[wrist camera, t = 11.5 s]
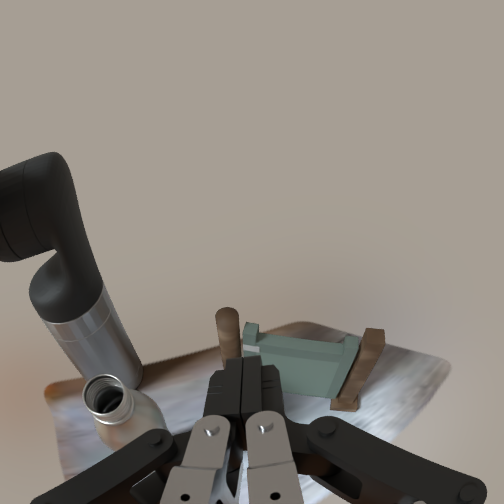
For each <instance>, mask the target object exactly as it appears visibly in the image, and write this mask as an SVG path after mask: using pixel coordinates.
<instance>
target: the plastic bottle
mask: <svg viewBox="0 0 504 504" xmlns="http://www.w3.org/2000/svg"><path fill="white" fill-rule="evenodd" d="M82 397H83V402H84V404H85V406H86V408H87V409H88V410H89V411H90V412H91V414H92V415H93V416H94V424H95V428H96V430H97V433H98V435H99V437H100V439H101V440H102V441H103V443H104V444H105V445H106V446H107V447H108V448H110V449H112V450H113V451H115V452H116V451H117V450H119V449H121V448H122V447H124V446H125V445H127V444H128V443H130V442H131V441H133V440H134V439H136V438H137V437H139V436H140V435H142V434H143V433H145V432H146V431H148V430H151V429H156V428H161V429H165V430H167V431H169V430H168V428H167V426H166V423H165V420H164V417H163V414H162V412H161V410H160V408H159V407H158V405H157V404H156V403H155V402H154V401H153V399H151V398H150V397H149V396H147V395H145V394H143V393H141V392H139V391H137V390H134V389H128V388H127V387H126V386H125V385H124V384H123V383H122V381H121V380H119V379H118V378H117V377H115V376H114V375H111V374H99V375H96V376H94V377H92V378H91V379H90V380H89V381H88V382H87V383H86V385H85V386H84V389H83V394H82ZM169 432H170V431H169ZM170 433H171V432H170ZM171 434H172V433H171ZM172 436H174V434H172ZM153 472H155V471H153ZM153 472H152V473H153ZM152 473H151V474H152ZM149 475H150V474H149Z"/></svg>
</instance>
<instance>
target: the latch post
mask: <svg viewBox="0 0 504 504" xmlns="http://www.w3.org/2000/svg"><path fill="white" fill-rule="evenodd" d="M384 334H385V333H384V330H383V329H373V328H366V330H365V333H364V335H363V337H362V340H361V342H360V345H359V347H358V351H357V353H356V356H355V358H354V360H353V362H352V365H351V367H350V369H349V371H348V373H347V376H346V378H345V380H344V382H343V384H342V386H341V388H340V390H339V392H338V394H337V396H336V398H335V399H331V405H330V410H336V411H348V412H356V410H357V402H358V393H359V391H360V390H361V388H362V386H363V385H364V383H365V381H366V379H367V378H368V376H369V374H370V372H371V371H372V369H373V367H374V365H375V363H376V362H377V360H378V358H379V356H380V354H381V352H382V350H383V348H384V346H385V335H384Z"/></svg>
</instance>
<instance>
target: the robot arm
mask: <svg viewBox="0 0 504 504" xmlns="http://www.w3.org/2000/svg"><path fill="white" fill-rule="evenodd" d="M53 249H55V250H56V251H57V253H56V254H55V255H54V256H52V257H51V258H50V259H49V260H48V261H47V262H46V263H44V265H42V266H41V267H40V268H39V270H38V271H37V272H36V274H35V275H34V277H33V279H32V281H31V283H30V288H29V296H30V300H31V302H32V304H33V306H34V308H35V310H36V311H37V313H38V314H39V316H40V318H41V319H42V321H43V322H44V324H45V325H46V327H47V328H48V330H49V331H50V333H51V334H52V336H53V337H54V338H55V340H56V341H57V343H58V344H59V346H60V347H61V348H62V350H63V351H64V353H65V354H66V355H67V357H68V358H69V359H70V361H71V362H72V363H73V364H74V366H75V367H76V368H77V370H78V371H79V372H80V374H81V375H82V376H83V377H84V379H85V380H86V381H87V382H88V381H89V380H90V379H91V378H92V377H94V376H96V375H99V374H111V375H114V376H115V377H117V378H118V379H119V380H121V381H122V383H123V384H124V385H125V386H126V387H127V388H128V389H134V390H135V389H136V388H137V387H138V385H139V384H140V382H141V379H142V376H143V366H142V364H141V361H140V359H139V357H138V356H137V353H136V352H135V350H134V348H133V345H132V343H131V342H130V339H129V338H128V335H127V334H126V331H125V329H124V327H123V325H122V323H121V321H120V319H119V317H118V314H117V312H116V310H115V308H114V306H113V303H112V301H111V299H110V297H109V294H108V292H107V290H106V287H105V285H104V282H103V280H102V277H101V275H100V272H99V270H98V267H97V265H96V262H95V259H94V256H93V253H92V250H91V247H90V245H89V241H88V238H87V235H86V232H85V228H84V225H83V221H82V217H81V213H80V209H79V205H78V200H77V195H76V191H75V187H74V183H73V179H72V176H71V173H70V170H69V167H68V165H67V163H66V161H65V160H64V158H63V157H62V156H61V155H60V154H59V153H57V152H50V153H46V154H42V155H39V156H37V157H34V158H31V159H29V160H26V161H23V162H21V163H18V164H16V165H13V166H11V167H8V168H6V169H3V170H1V171H0V261H2V262H16V261H20V260H23V259H26V258H29V257H32V256H35V255H38V254H41V253H44V252H46V251H50V250H53ZM243 451H248V463H249V467H248V468H247V480H248V493H249V504H304V501H303V496H302V492H301V488H300V483H299V479H298V474H303V475H310V477H311V478H312V479H313V480H314V481H316V482H317V483H319V484H320V485H322V486H323V487H325V488H326V489H328V490H330V491H331V492H333V493H334V494H336V495H338V496H339V497H341V498H342V499H344V500H346V501H347V502H349V503H351V504H484V502H485V500H486V497H487V489H486V486H485V484H484V483H483V482H482V481H481V480H480V479H477V478H475V477H472V476H469V475H466V474H463V473H461V472H458V471H455V470H452V469H450V468H447V467H444V466H442V465H439V464H437V463H434V462H431V461H429V460H427V459H424V458H422V457H420V456H417V455H415V454H412V453H410V452H408V451H405V450H403V449H401V448H399V447H397V446H394V445H392V444H390V443H388V442H386V441H384V440H382V439H380V438H377V437H375V436H373V435H371V434H369V433H367V432H365V431H363V430H361V429H359V428H357V427H355V426H353V425H351V424H349V423H347V422H346V421H344V420H342V419H340V418H337V417H333V416H324V417H320V418H317V419H315V420H314V421H312V422H311V423H310V424H299V423H295V422H293V421H291V420H289V419H288V418H287V417H286V416H285V412H284V403H283V394H282V387H281V380H280V373H279V370H278V369H277V368H276V367H275V365H274V364H272V365H265V366H263V365H262V359H261V355H255V356H247V357H244V358H243V357H238V358H229V359H226V365H225V370H218V371H215V373H214V374H213V375H212V376H211V378H210V381H209V388H208V392H207V397H206V402H205V407H204V413H203V418H201V419H200V420H198V421H197V422H196V423H195V425H194V427H193V430H191V431H189V432H186V433H182V434H178V435H174V436H172V434H171V433H170V432H169V431H167V430H165V429H161V428H156V429H151V430H148V431H146V432H145V433H143V434H142V435H140V436H139V437H137V438H136V439H134V440H133V441H131V442H130V443H128V444H127V445H125V446H124V447H122V448H121V449H119V450H117V451H116V452H114V453H113V454H111V455H110V456H108V457H106V458H105V459H103V460H102V461H100V462H98V463H97V464H95V465H93V466H92V467H90V468H88V469H87V470H85V471H83V472H82V473H80V474H78V475H77V476H75V477H73V478H71V479H70V480H68V481H66V482H64V483H63V484H61V485H59V486H57V487H55V488H54V489H52V490H50V491H48V492H46V493H44V494H42V495H40V496H38V497H36V498H35V499H34V500H32V502H31V503H30V504H239V495H240V487H241V480H242V473H243V462H242V460H243ZM153 471H155V472H153ZM152 472H153V473H152ZM151 473H152V474H151ZM149 474H150V475H149ZM148 475H149V476H148ZM146 476H148V477H146ZM145 477H146V478H145ZM144 478H145V479H144ZM142 479H143V480H142ZM141 480H142V481H141ZM139 481H140V482H139ZM138 482H139V483H138ZM136 483H138V484H136ZM135 484H136V485H135ZM133 485H135V486H133ZM132 486H133V487H132Z"/></svg>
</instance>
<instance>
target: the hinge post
mask: <svg viewBox="0 0 504 504" xmlns="http://www.w3.org/2000/svg"><path fill="white" fill-rule="evenodd" d="M215 317H216V324H217V330H218V337H219V343H220V349H221V355H222V361H223V367H224V370H225V365H226V359H229V358H238V357H241V343H240V329H239V315H238V312H237V311H236V310H235V309H234V308H230V307H225V308H221V309H220V310H218V311H217V313H216V315H215Z"/></svg>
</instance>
